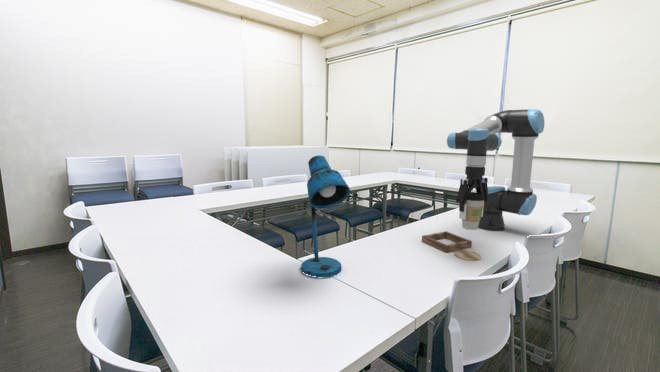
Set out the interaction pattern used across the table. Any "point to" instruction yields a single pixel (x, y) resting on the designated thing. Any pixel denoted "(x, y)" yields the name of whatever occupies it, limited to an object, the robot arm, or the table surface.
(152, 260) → the table surface
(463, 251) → the cork coaster
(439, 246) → the pocket frame
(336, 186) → the desk lamp
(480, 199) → the coffee cup
